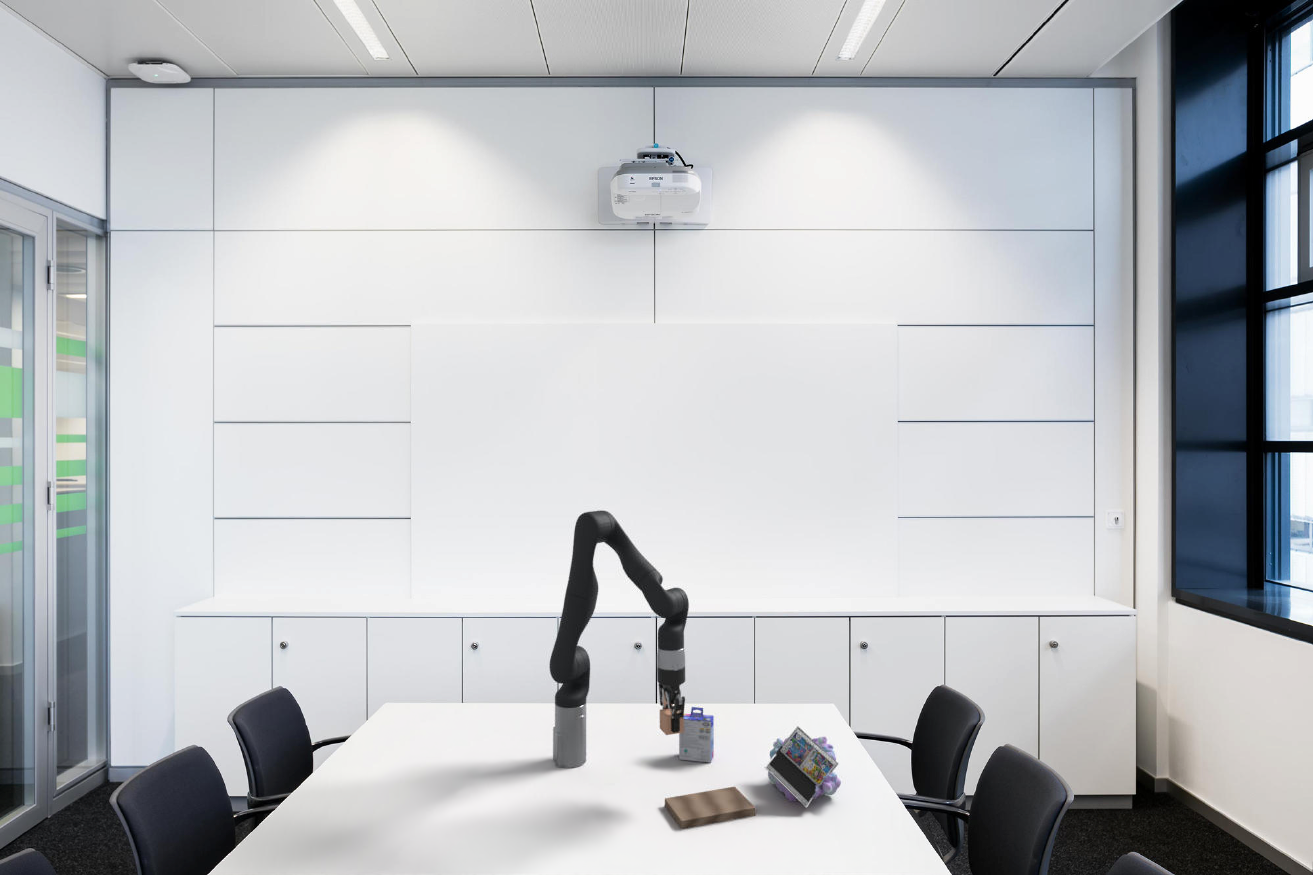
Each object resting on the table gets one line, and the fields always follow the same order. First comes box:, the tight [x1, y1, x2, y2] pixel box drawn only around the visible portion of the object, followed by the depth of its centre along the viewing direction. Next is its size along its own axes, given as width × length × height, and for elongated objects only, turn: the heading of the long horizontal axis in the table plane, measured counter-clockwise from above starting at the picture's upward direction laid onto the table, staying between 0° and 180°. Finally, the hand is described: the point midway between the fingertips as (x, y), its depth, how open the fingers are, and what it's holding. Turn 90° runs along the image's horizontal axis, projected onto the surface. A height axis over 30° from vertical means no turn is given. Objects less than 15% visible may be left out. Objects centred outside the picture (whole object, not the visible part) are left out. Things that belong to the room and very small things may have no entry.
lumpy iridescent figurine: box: [764, 726, 842, 808], centre depth 201 cm, size 20×22×18 cm
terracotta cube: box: [659, 708, 684, 736], centre depth 199 cm, size 5×5×5 cm
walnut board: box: [664, 786, 756, 830], centre depth 190 cm, size 20×12×2 cm, turn 110°
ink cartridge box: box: [678, 706, 715, 763], centre depth 222 cm, size 10×6×14 cm, turn 78°
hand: (671, 727), depth 199 cm, fingers closed on terracotta cube, 5 cm apart
